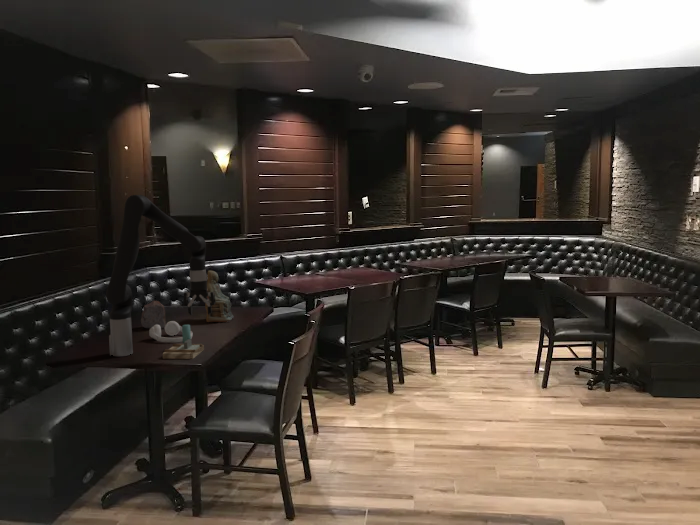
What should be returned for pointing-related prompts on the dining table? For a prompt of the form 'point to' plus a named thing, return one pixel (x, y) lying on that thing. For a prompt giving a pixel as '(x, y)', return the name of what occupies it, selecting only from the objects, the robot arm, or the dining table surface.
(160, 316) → the rock
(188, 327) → the peg
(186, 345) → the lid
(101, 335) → the dining table surface
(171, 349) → the board
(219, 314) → the sculpture
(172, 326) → the headphones
